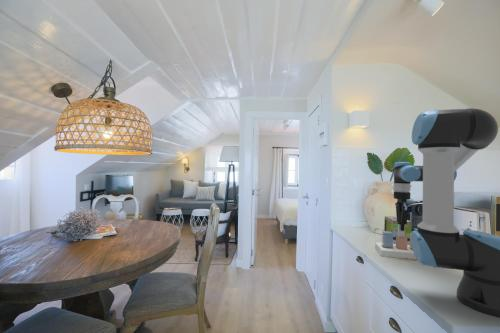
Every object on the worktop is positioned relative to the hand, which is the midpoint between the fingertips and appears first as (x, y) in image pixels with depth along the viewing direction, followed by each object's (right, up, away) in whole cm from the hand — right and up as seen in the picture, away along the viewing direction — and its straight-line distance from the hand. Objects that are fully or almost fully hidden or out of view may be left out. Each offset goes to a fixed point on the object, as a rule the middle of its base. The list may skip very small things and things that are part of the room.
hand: (401, 236), depth 128 cm
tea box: (+9, -10, +19) cm, 23 cm away
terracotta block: (0, -7, 0) cm, 7 cm away
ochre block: (+6, -5, -2) cm, 8 cm away
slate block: (-6, -5, +1) cm, 8 cm away
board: (0, -9, 0) cm, 9 cm away
